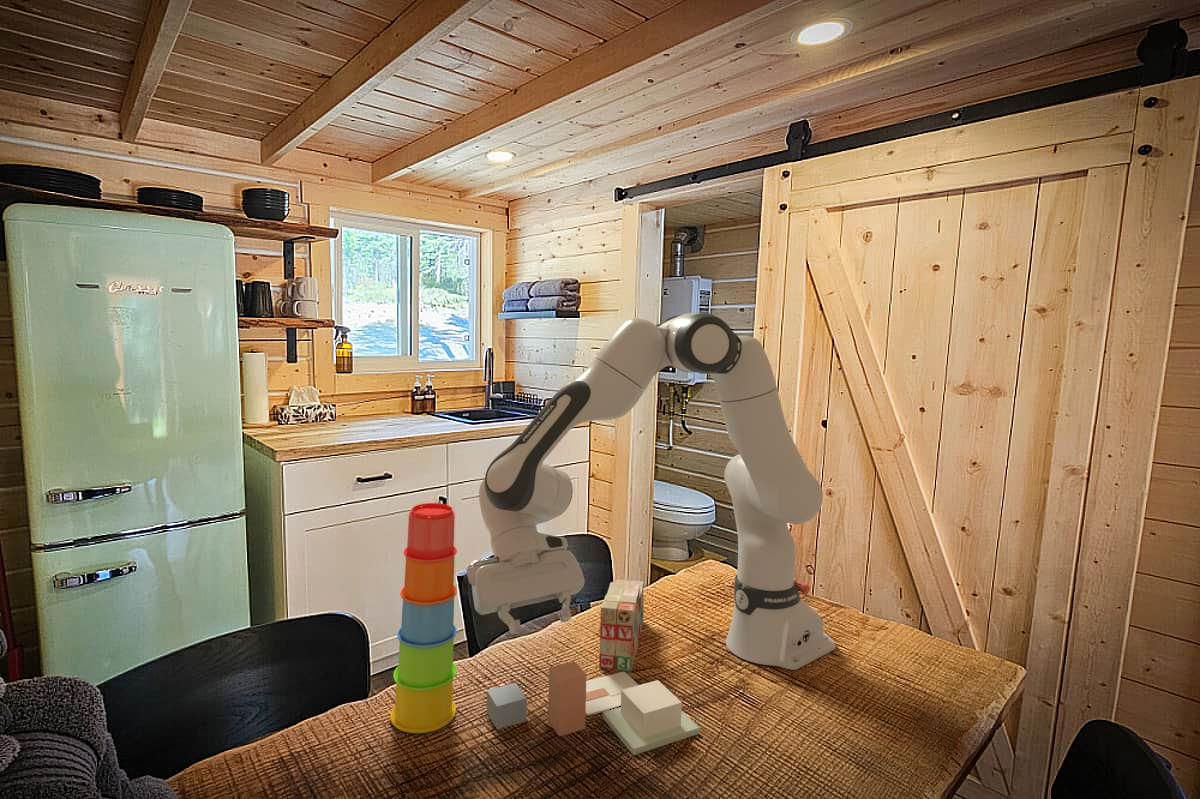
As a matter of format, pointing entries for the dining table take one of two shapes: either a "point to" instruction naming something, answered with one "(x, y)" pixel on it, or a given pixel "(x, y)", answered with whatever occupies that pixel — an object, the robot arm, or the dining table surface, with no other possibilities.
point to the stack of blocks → (621, 624)
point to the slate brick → (506, 705)
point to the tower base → (650, 741)
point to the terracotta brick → (567, 698)
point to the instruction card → (606, 692)
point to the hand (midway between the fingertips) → (542, 626)
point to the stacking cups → (427, 623)
